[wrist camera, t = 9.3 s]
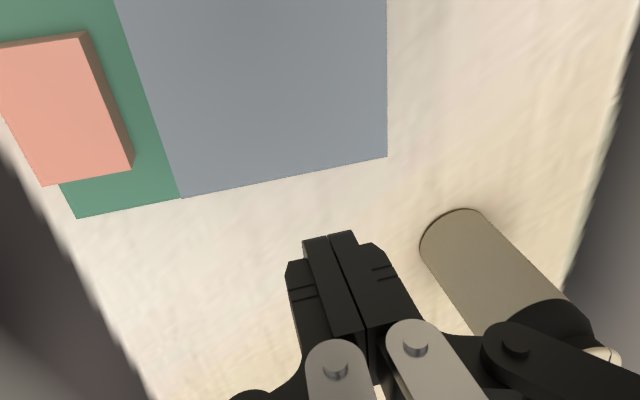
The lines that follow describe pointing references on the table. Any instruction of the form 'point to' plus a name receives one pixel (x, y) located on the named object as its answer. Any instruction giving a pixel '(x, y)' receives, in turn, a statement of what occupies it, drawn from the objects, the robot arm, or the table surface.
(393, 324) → the robot arm
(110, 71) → the mat
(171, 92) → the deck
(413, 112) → the table surface
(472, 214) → the travel mug
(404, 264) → the table surface
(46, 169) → the pink slab
